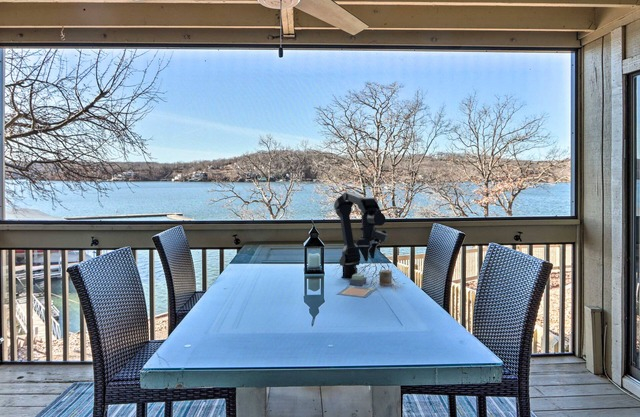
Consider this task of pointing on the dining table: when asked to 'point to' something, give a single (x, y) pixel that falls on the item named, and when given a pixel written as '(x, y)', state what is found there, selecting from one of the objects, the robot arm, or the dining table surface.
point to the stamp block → (385, 277)
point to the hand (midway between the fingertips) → (369, 259)
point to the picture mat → (356, 291)
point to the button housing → (358, 281)
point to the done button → (358, 276)
